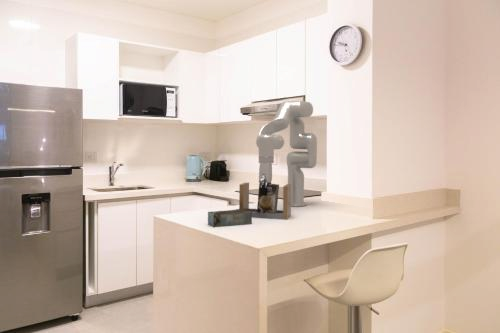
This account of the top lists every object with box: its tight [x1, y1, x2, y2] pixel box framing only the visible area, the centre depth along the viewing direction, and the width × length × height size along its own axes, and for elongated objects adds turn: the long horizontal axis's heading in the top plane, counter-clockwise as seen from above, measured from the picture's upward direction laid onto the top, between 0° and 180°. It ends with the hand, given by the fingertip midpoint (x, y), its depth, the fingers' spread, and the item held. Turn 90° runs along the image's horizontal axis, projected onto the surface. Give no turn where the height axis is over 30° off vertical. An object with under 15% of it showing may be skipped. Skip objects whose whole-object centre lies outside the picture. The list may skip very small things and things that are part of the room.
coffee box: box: [256, 183, 280, 213], centre depth 207 cm, size 9×6×16 cm
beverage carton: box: [207, 208, 253, 228], centre depth 187 cm, size 8×19×7 cm, turn 116°
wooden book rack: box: [238, 182, 292, 220], centre depth 207 cm, size 11×24×16 cm, turn 75°
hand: (266, 194), depth 208 cm, fingers open, 9 cm apart
